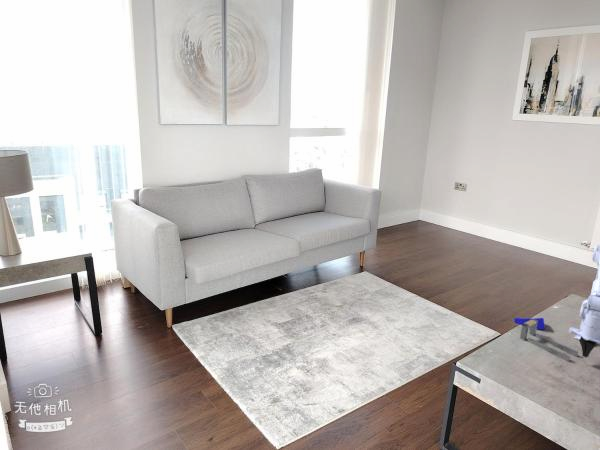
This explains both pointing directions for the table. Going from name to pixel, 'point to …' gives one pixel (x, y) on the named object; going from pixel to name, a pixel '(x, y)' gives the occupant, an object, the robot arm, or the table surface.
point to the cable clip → (523, 320)
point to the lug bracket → (526, 325)
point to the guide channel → (554, 349)
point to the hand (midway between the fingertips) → (585, 356)
